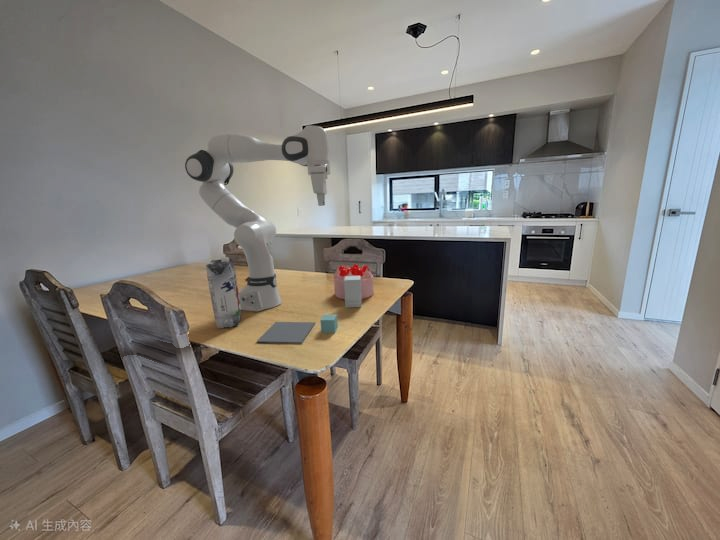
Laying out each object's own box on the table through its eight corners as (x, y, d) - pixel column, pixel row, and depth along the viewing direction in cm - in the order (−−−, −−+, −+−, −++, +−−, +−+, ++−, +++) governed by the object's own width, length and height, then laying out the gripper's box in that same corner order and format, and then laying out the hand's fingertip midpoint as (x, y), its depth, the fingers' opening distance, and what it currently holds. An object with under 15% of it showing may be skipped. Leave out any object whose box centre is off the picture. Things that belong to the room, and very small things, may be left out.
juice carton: (215, 330, 109) (202, 261, 102) (220, 320, 119) (209, 256, 112) (240, 327, 111) (229, 259, 104) (243, 317, 121) (233, 254, 114)
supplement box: (361, 307, 126) (360, 279, 123) (345, 307, 126) (343, 280, 123) (362, 301, 133) (360, 275, 130) (346, 302, 133) (344, 275, 130)
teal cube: (321, 332, 103) (320, 320, 102) (324, 326, 108) (323, 314, 107) (335, 333, 102) (334, 320, 101) (337, 327, 107) (337, 314, 106)
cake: (376, 288, 152) (375, 262, 149) (370, 301, 133) (369, 271, 129) (340, 287, 156) (338, 262, 152) (330, 300, 136) (327, 271, 133)
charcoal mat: (256, 342, 98) (256, 341, 98) (276, 323, 113) (275, 321, 113) (301, 343, 96) (301, 342, 95) (315, 323, 111) (315, 322, 111)
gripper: (313, 173, 124) (316, 205, 127) (307, 167, 104) (311, 206, 107) (328, 172, 124) (330, 204, 127) (325, 166, 104) (327, 205, 107)
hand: (321, 205), depth 117 cm, fingers open, 8 cm apart
